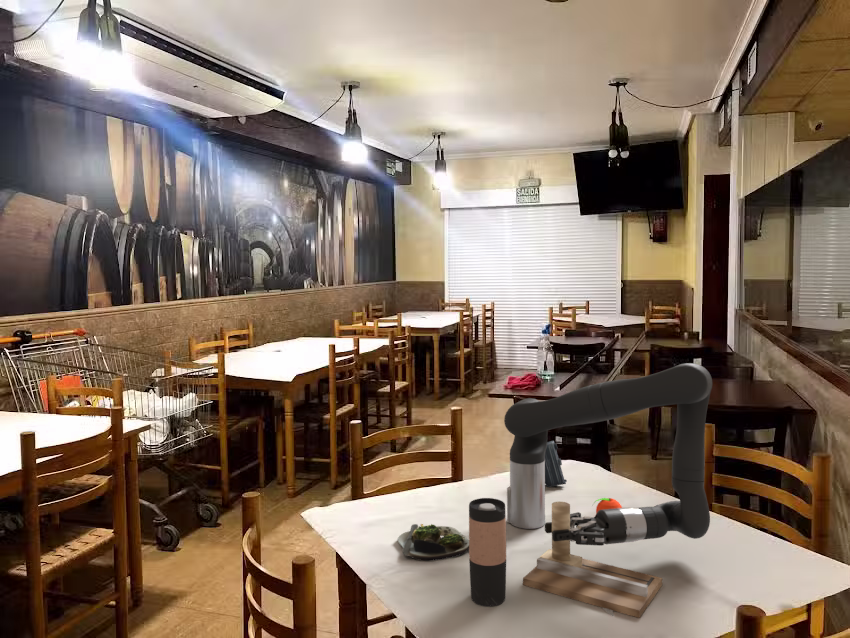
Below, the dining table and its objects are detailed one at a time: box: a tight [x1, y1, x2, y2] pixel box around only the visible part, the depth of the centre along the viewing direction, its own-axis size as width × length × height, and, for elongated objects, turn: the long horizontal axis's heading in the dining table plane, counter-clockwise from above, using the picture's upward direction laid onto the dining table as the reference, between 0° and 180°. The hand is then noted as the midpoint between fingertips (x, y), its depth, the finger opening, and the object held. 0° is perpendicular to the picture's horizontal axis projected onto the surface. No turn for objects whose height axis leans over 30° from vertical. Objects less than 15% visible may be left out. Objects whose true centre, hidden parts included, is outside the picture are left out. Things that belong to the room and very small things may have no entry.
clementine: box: [591, 497, 623, 515], centre depth 174 cm, size 8×7×7 cm
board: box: [522, 557, 663, 619], centre depth 141 cm, size 25×16×4 cm, turn 55°
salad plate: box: [397, 523, 469, 562], centre depth 164 cm, size 19×18×5 cm
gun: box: [545, 440, 567, 488], centre depth 207 cm, size 3×17×15 cm
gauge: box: [539, 501, 583, 568], centre depth 147 cm, size 8×6×14 cm
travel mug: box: [468, 497, 507, 607], centre depth 136 cm, size 8×8×20 cm
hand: (549, 531), depth 147 cm, fingers closed on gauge, 4 cm apart
